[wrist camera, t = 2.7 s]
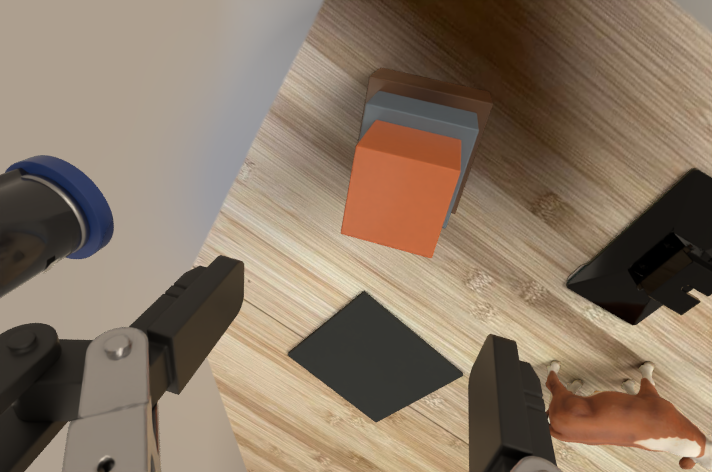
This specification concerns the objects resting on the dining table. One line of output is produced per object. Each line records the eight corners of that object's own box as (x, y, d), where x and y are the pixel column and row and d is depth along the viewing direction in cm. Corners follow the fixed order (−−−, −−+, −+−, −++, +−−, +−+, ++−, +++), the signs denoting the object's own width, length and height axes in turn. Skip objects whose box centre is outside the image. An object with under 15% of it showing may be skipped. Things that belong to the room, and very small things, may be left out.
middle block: (361, 180, 29) (347, 203, 26) (378, 90, 26) (365, 103, 23) (447, 202, 29) (445, 229, 25) (477, 112, 25) (479, 129, 22)
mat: (288, 352, 47) (287, 355, 46) (364, 290, 40) (363, 293, 39) (376, 419, 49) (376, 422, 49) (463, 373, 42) (463, 376, 42)
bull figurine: (689, 397, 37) (741, 487, 30) (532, 384, 41) (546, 461, 34) (702, 363, 35) (760, 451, 28) (535, 352, 38) (551, 428, 32)
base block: (361, 168, 33) (349, 187, 30) (380, 67, 29) (369, 75, 26) (456, 192, 32) (454, 214, 29) (489, 91, 28) (493, 103, 25)
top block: (360, 196, 26) (340, 234, 21) (375, 119, 23) (355, 145, 19) (437, 216, 25) (431, 258, 21) (461, 139, 22) (461, 171, 18)
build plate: (632, 322, 35) (653, 363, 31) (561, 281, 34) (573, 318, 30) (777, 216, 28) (827, 252, 24) (690, 164, 28) (727, 191, 24)
